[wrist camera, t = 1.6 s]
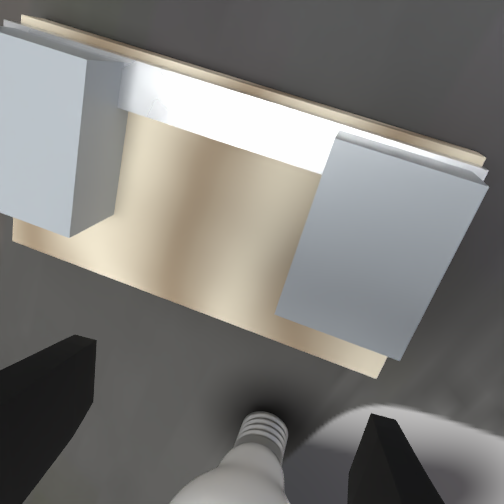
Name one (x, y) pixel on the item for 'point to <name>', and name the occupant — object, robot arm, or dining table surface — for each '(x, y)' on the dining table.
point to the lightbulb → (245, 467)
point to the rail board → (228, 193)
